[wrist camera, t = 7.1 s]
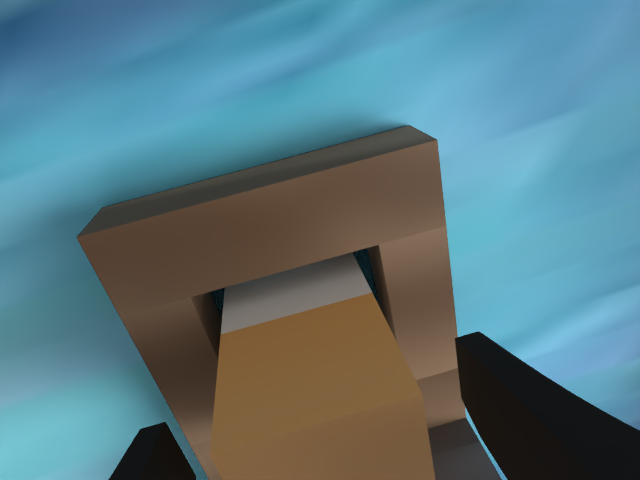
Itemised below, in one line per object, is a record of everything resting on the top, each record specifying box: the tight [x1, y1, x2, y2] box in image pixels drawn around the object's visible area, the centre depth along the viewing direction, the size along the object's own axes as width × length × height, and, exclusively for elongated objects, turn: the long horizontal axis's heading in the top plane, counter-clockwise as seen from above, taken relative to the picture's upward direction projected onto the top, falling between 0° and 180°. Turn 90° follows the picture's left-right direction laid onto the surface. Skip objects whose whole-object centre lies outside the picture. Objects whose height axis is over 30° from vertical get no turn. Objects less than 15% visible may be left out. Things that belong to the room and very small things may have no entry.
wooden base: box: [77, 125, 502, 480], centre depth 14 cm, size 20×9×5 cm, turn 13°
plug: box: [210, 252, 435, 480], centre depth 12 cm, size 4×4×6 cm
